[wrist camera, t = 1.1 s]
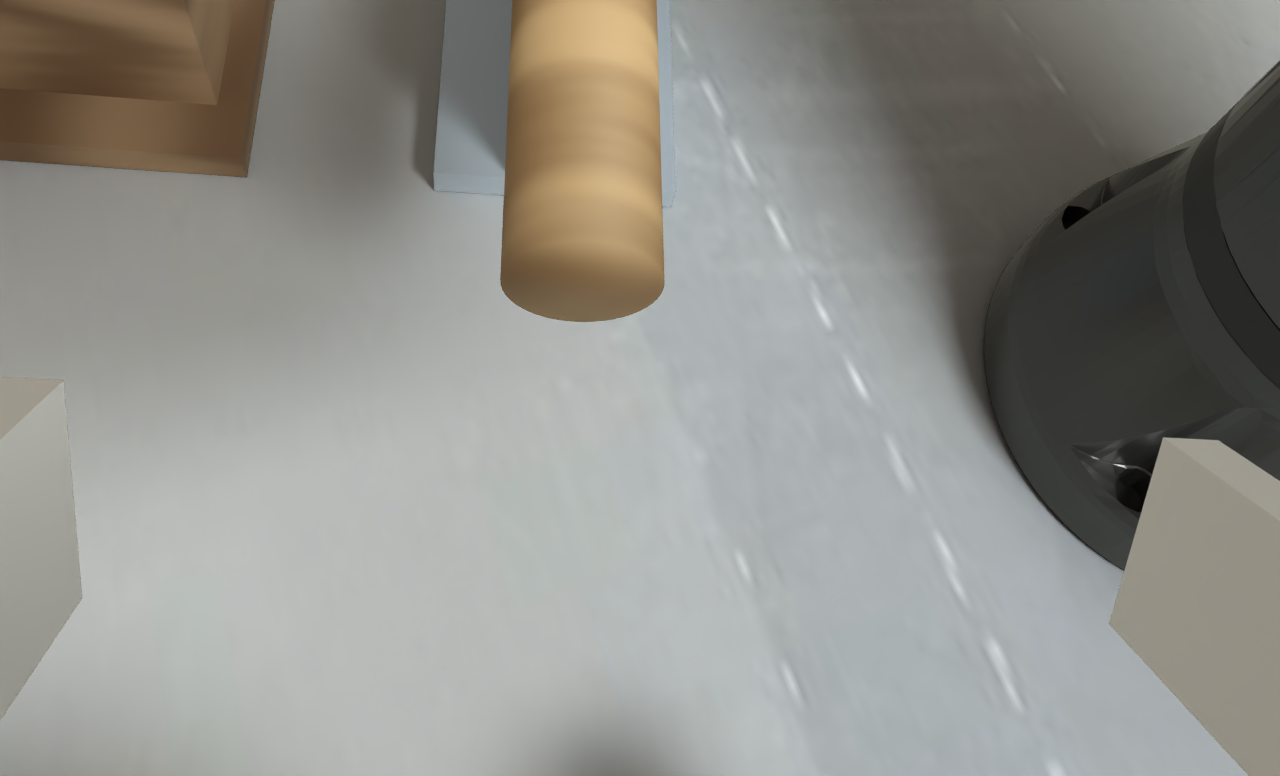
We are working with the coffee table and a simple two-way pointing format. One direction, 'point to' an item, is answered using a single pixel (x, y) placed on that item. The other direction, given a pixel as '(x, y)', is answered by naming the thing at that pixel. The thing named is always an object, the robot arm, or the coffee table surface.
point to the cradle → (481, 98)
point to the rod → (583, 160)
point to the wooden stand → (132, 82)
